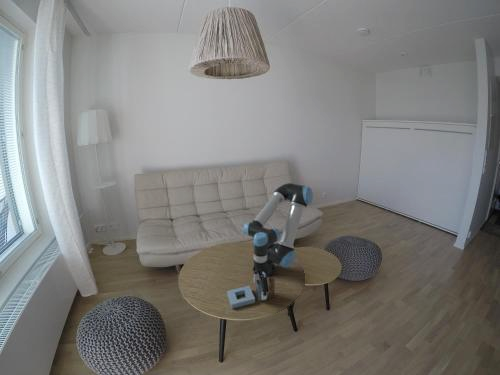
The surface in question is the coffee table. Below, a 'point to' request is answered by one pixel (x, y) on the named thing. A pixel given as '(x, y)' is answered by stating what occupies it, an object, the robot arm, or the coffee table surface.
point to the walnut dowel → (271, 287)
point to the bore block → (243, 301)
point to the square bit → (259, 290)
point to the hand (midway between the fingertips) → (260, 290)
